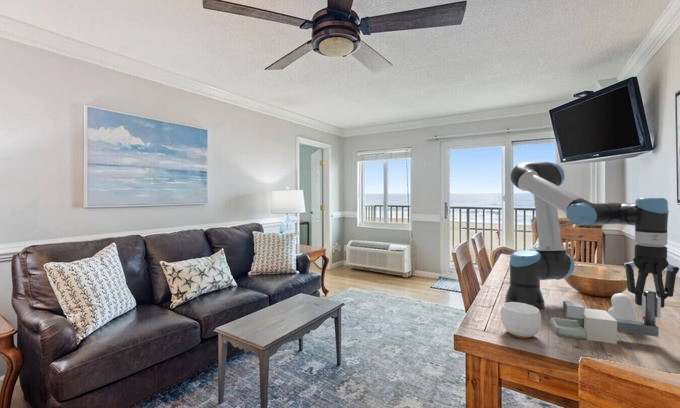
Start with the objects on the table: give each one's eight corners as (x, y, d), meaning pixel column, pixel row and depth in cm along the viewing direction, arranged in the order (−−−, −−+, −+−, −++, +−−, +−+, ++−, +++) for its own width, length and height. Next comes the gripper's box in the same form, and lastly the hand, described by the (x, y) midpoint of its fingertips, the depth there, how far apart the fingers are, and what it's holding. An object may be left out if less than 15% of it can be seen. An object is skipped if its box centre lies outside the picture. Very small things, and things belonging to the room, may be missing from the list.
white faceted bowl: (498, 325, 116) (498, 299, 116) (536, 330, 112) (536, 303, 112) (502, 339, 105) (503, 311, 105) (545, 345, 100) (545, 316, 100)
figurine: (623, 322, 118) (623, 291, 118) (643, 330, 110) (643, 297, 110) (605, 322, 118) (605, 291, 118) (624, 331, 110) (624, 298, 110)
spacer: (566, 316, 108) (567, 305, 108) (563, 311, 113) (563, 300, 113) (584, 318, 106) (584, 307, 106) (579, 313, 111) (579, 302, 111)
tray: (556, 335, 107) (556, 327, 107) (550, 324, 117) (550, 317, 117) (585, 339, 104) (586, 331, 104) (576, 327, 113) (576, 320, 113)
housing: (586, 339, 104) (586, 317, 104) (577, 327, 113) (577, 307, 113) (616, 344, 101) (617, 321, 101) (604, 331, 110) (605, 310, 110)
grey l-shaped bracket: (580, 326, 107) (580, 286, 107) (577, 323, 110) (577, 284, 110) (658, 336, 99) (659, 293, 99) (653, 332, 102) (653, 290, 102)
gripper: (624, 245, 100) (622, 316, 101) (691, 248, 94) (690, 324, 95) (614, 241, 107) (613, 308, 108) (677, 244, 101) (675, 315, 101)
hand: (649, 315), depth 101 cm, fingers closed on grey l-shaped bracket, 3 cm apart
